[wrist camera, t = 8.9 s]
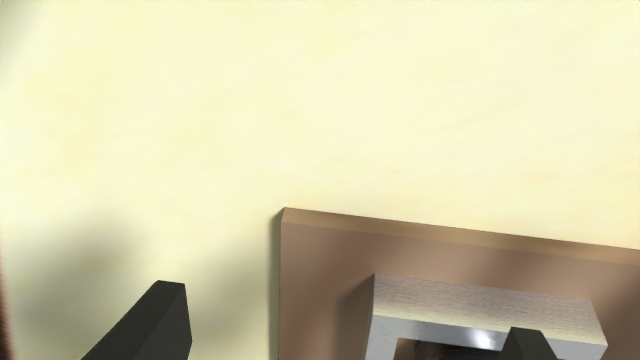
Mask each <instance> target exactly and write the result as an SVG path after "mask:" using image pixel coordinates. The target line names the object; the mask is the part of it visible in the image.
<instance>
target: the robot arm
mask: <svg viewBox="0 0 640 360" xmlns="http://www.w3.org/2000/svg"><path fill="white" fill-rule="evenodd" d="M191 345H192V336H191V329H190V321H189V313H188V306H187V298H186V290H185V284H183V283H176V282H168V281H161V280H158V281H156V282H155V283H154V284H153V285H152V286H151V287H150V288H149V289H148V290H147V291H146V293H145V294H144V295H143V296H142V297H141V298H140V299H139V300H138V301H137V302H136V304H135V305H134V306H133V307H132V308H131V309H130V310H129V311H128V312H127V313H126V314H125V315H124V316H123V318H122V319H121V320H120V321H119V322H118V323H117V324H116V325H115V326H114V327H113V328H112V329H111V330H110V331H109V332H108V333H107V334H106V335H105V336H104V337H103V338H102V339H101V340H100V341H99V342H98V343H97V344H96V345H95V346H94V347H93V348H92V349H91V350H90V351H89V352H88V353H87V354H86V355H85V356H84V357H83V358H82V359H81V360H187V359H188V355H189V352H190V348H191ZM498 360H558V358H557V356H556V355H555V353H554V351H553V350H552V348H551V346H550V345H549V343H548V341H547V340H546V338H545V336H544V335H543V333H542V332H541V331H540V330H534V329H527V328H519V327H512V326H511V328H510V331H509V333H508V335H507V338H506V340H505V343H504V345H503V348H502V350H501V353H500V355H499V357H498Z"/></svg>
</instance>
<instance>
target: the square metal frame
mask: <svg viewBox="0 0 640 360" xmlns="http://www.w3.org/2000/svg"><path fill="white" fill-rule="evenodd" d="M511 326H512V327H519V328H527V329H534V330H540V331H541V332H542V333H543V335H544V336H545V338H546V340H547V341H548V343H549V345H550V346H551V348H552V350H553V351H554V353H555V355H556V356H557V358H558V360H600V359H601V357H602V355H603V354H604V352H605V350H606V348H607V347H608V344H607V341H606V339H605V336H604V334H603V331H602V328H601V326H600V323H599V321H598V318H597V316H596V313H595V311H594V308H593V305H592V303H591V300H586V299H578V298H570V297H562V296H554V295H546V294H538V293H530V292H523V291H515V290H507V289H499V288H491V287H483V286H475V285H467V284H459V283H452V282H444V281H436V280H428V279H420V278H412V277H404V276H396V275H388V274H381V273H375V276H374V282H373V288H372V294H371V300H370V306H369V312H368V318H367V324H366V330H365V336H364V342H363V348H362V354H361V360H393V358H394V353H395V349H396V344H397V340H398V337H400V338H407V339H415V340H422V341H430V342H437V343H445V344H452V345H459V346H467V347H474V348H482V349H489V350H497V351H501V350H502V348H503V345H504V343H505V340H506V338H507V335H508V333H509V331H510V328H511Z"/></svg>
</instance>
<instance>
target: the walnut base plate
mask: <svg viewBox="0 0 640 360" xmlns="http://www.w3.org/2000/svg"><path fill="white" fill-rule="evenodd" d="M375 273H381V274H388V275H396V276H404V277H412V278H420V279H428V280H436V281H444V282H452V283H459V284H467V285H475V286H483V287H491V288H499V289H507V290H515V291H523V292H530V293H538V294H546V295H554V296H562V297H570V298H578V299H586V300H591V303H592V305H593V308H594V311H595V313H596V316H597V318H598V321H599V323H600V326H601V328H602V331H603V334H604V336H605V339H606V341H607V344H608V347H607V348H606V350H605V352H604V354H603V355H602V357H601V359H600V360H640V250H635V249H627V248H619V247H610V246H602V245H594V244H585V243H577V242H569V241H560V240H552V239H544V238H535V237H527V236H519V235H510V234H502V233H494V232H485V231H477V230H469V229H460V228H452V227H444V226H436V225H427V224H419V223H411V222H402V221H394V220H386V219H377V218H369V217H361V216H352V215H344V214H336V213H327V212H319V211H311V210H302V209H294V208H286V207H285V209H284V212H283V216H282V219H281V237H280V291H279V345H278V360H361V354H362V348H363V342H364V336H365V330H366V324H367V318H368V312H369V306H370V300H371V294H372V288H373V282H374V276H375ZM415 343H416V340H415V339H407V338H400V337H398V340H397V344H396V349H395V353H394V358H393V360H415V352H414V347H415Z"/></svg>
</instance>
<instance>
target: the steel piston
mask: <svg viewBox="0 0 640 360" xmlns="http://www.w3.org/2000/svg"><path fill="white" fill-rule="evenodd" d="M414 352H415V360H498V357H499V355H500V353H501V351H497V350H489V349H482V348H474V347H467V346H459V345H452V344H445V343H437V342H430V341H422V340H416V343H415V347H414Z"/></svg>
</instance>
